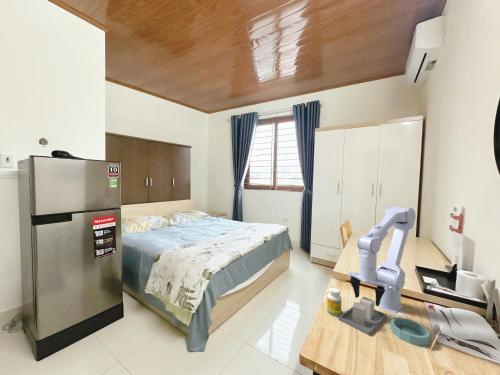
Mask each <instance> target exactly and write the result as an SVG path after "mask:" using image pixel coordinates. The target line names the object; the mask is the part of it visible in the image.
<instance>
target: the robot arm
mask: <svg viewBox="0 0 500 375" xmlns="http://www.w3.org/2000/svg"><path fill="white" fill-rule="evenodd" d="M384 212H385V213H384V217H383V219H381V221H380V222H379V224H375V225H374V226H372V227H371V229H370V230H369V231H368V232H367V233H366V234H365V235H362V236H360V237H358V239H357V242H356V244H357V248H358V253H359V254H360V256H359V259H360V260H359V272H353V271H349V272H348V274H347V276H348V278H350V279H349V282H350V285H351V287H352V289H353V292H354V297H355V298H356V299H358V298H359V297H360V285H361V282H363V283H365V284H366V283H367V284H370V285H373V286H375V288H374V291H375V305H374V306H375V307H378V308H381V309H383V310H386V311H389V312H390V313H394V314H398V313H399V311H400V310H401V309H402V308H403V307H404V305H403V304H401V300H402V298H401V295H402V294H401V293H402V291H401V289H403V288H404V286H405V283H406V279H405V278H406V273H405V271H404V270H403V268H402V267H401V266H400V264H401V261H402V257H403V253H404V250H405V246H406V243H407V238H408V234H409V231H410V230H411V229H413V227H414V224H415V221H416V218H417V216H416V211H415V209H414V208H413V207H403V206H393V205H389V206H388V207H387V208H386V209H385V211H384ZM392 227H394V231H393V235H392V238H391V242H390V246H389V249H388V252H387V257H386V260H385V261H383V262H380V263H378V265H377V258H378V257H377V256H378V255H377V254H378V253H379V251H380V249H381V247H382V242H383V241H384V240H385V239H386V237H387V236H388V234H389V232H388V231H389V229H390V228H392Z"/></svg>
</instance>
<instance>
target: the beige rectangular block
mask: <svg viewBox="0 0 500 375" xmlns="http://www.w3.org/2000/svg"><path fill="white" fill-rule="evenodd" d="M359 303H360V304H363V305H366V318H368V319H371V318H372V317H373V316H374V309H375V306H376V305H375V303H376V300H373V299H371V298H368V297H367V296H363V297H361V298H360V299H359Z"/></svg>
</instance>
